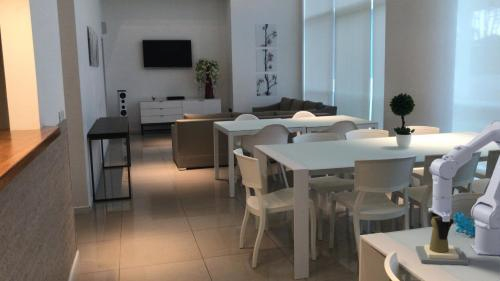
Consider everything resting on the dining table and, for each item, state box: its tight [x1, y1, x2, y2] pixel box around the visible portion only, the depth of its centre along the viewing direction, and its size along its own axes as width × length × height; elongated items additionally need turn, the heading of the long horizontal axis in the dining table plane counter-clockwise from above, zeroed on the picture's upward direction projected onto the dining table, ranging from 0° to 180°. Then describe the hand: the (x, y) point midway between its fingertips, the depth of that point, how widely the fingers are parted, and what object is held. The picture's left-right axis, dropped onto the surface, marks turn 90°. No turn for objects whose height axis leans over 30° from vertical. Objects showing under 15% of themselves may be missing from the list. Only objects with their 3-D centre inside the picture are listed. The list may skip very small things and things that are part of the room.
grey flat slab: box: [415, 244, 469, 266], centre depth 157 cm, size 14×12×2 cm
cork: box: [429, 217, 449, 253], centre depth 156 cm, size 6×6×11 cm
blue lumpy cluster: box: [453, 211, 476, 237], centre depth 179 cm, size 11×6×10 cm
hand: (441, 236), depth 156 cm, fingers closed on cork, 5 cm apart
